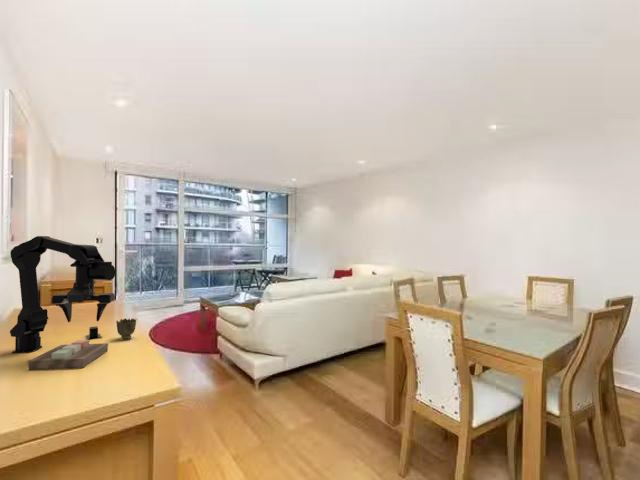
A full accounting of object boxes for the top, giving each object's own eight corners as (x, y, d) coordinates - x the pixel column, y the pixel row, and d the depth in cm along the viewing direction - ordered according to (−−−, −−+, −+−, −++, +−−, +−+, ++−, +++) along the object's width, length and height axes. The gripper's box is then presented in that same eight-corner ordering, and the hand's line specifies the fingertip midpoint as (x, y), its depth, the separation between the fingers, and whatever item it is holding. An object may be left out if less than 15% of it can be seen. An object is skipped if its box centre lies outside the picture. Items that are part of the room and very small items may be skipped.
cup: (126, 341, 139) (127, 322, 139) (111, 340, 140) (112, 321, 140) (140, 336, 146) (140, 318, 146) (125, 335, 148) (125, 317, 148)
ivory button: (61, 357, 115) (61, 348, 115) (68, 353, 119) (68, 344, 119) (74, 357, 116) (74, 347, 116) (80, 353, 120) (81, 344, 120)
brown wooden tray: (28, 370, 108) (28, 360, 108) (61, 352, 124) (61, 344, 125) (83, 368, 110) (83, 358, 110) (107, 351, 127) (107, 343, 127)
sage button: (51, 363, 110) (51, 353, 110) (58, 359, 114) (59, 349, 114) (64, 362, 110) (64, 353, 110) (71, 358, 114) (72, 349, 114)
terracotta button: (71, 352, 120) (71, 343, 120) (77, 348, 124) (77, 340, 124) (83, 351, 121) (83, 343, 121) (89, 348, 125) (89, 339, 125)
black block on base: (82, 336, 149) (82, 325, 149) (102, 333, 153) (102, 323, 153) (84, 342, 139) (84, 331, 139) (105, 339, 143) (105, 329, 143)
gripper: (43, 281, 114) (41, 328, 114) (105, 281, 118) (103, 326, 118) (60, 278, 125) (58, 320, 125) (116, 278, 129) (114, 318, 129)
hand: (83, 321), depth 124 cm, fingers open, 9 cm apart
